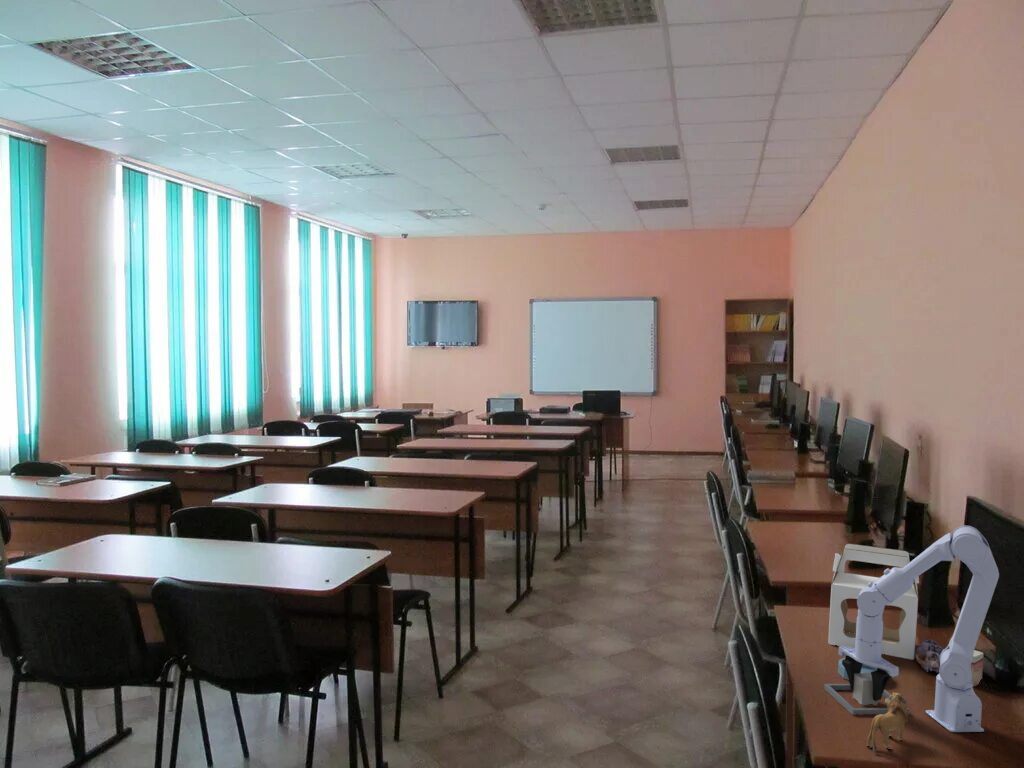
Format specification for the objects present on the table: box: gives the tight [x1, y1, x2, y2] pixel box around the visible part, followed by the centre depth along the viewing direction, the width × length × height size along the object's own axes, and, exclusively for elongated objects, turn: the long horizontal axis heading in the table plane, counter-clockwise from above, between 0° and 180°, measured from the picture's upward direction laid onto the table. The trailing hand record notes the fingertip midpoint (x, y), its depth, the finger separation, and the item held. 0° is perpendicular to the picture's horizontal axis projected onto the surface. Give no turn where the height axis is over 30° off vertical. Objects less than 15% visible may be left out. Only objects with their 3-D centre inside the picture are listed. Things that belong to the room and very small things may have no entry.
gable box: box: [827, 543, 920, 661], centre depth 224 cm, size 22×13×28 cm, turn 64°
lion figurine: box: [866, 692, 909, 753], centre depth 169 cm, size 15×5×9 cm, turn 137°
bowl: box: [837, 656, 877, 681], centre depth 203 cm, size 12×12×2 cm
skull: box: [914, 638, 945, 673], centre depth 210 cm, size 12×8×6 cm, turn 151°
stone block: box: [852, 673, 879, 706], centre depth 188 cm, size 4×4×6 cm
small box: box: [971, 649, 984, 688], centre depth 201 cm, size 5×4×8 cm
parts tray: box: [823, 683, 911, 716], centre depth 188 cm, size 14×14×1 cm
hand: (865, 694), depth 188 cm, fingers closed on stone block, 5 cm apart
